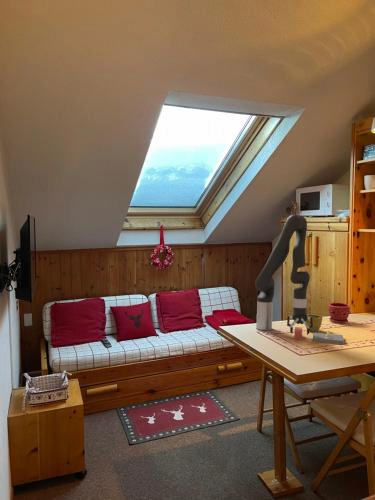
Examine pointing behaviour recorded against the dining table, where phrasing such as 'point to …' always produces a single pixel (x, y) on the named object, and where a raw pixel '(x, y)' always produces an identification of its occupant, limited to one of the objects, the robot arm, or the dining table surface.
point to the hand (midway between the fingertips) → (299, 334)
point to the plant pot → (339, 312)
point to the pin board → (328, 338)
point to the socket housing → (298, 333)
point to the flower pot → (315, 322)
